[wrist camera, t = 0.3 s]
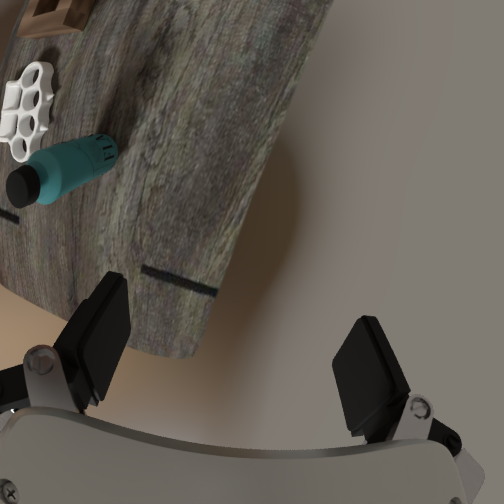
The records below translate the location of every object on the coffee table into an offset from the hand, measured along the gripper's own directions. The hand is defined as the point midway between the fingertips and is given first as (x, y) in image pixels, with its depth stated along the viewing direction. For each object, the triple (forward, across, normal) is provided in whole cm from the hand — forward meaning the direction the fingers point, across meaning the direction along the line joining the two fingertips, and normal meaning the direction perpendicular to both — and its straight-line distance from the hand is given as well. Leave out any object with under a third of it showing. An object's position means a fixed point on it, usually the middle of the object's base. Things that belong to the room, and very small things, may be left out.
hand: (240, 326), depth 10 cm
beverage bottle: (+31, +22, 0) cm, 38 cm away
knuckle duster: (+31, +41, -7) cm, 52 cm away
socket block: (+31, +36, -26) cm, 54 cm away
